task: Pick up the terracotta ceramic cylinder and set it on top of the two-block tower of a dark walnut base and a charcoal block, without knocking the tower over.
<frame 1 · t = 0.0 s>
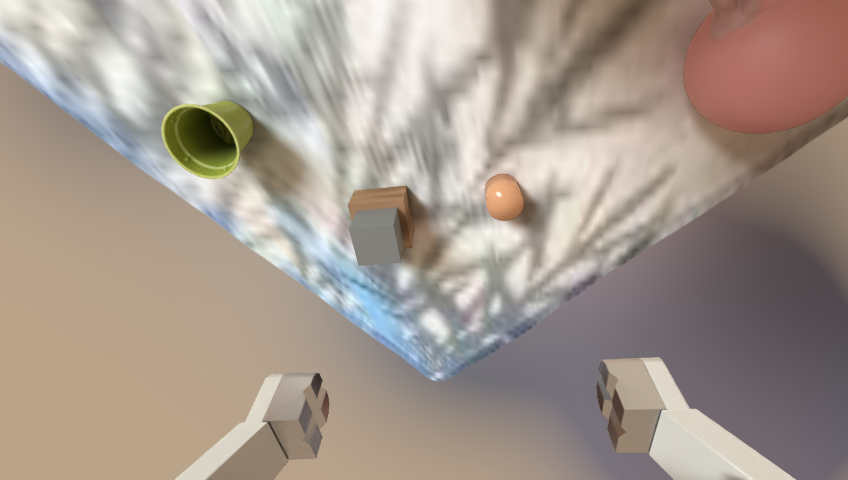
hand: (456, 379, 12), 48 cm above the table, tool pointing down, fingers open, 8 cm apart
terracotta cylinder: (501, 189, 61), on the table
tower base: (385, 210, 64), on the table, touching tower top
balloon: (719, 31, 49), on the table
tower top: (380, 227, 60), point 5 cm above the table, touching tower base
plant pot: (232, 122, 58), on the table
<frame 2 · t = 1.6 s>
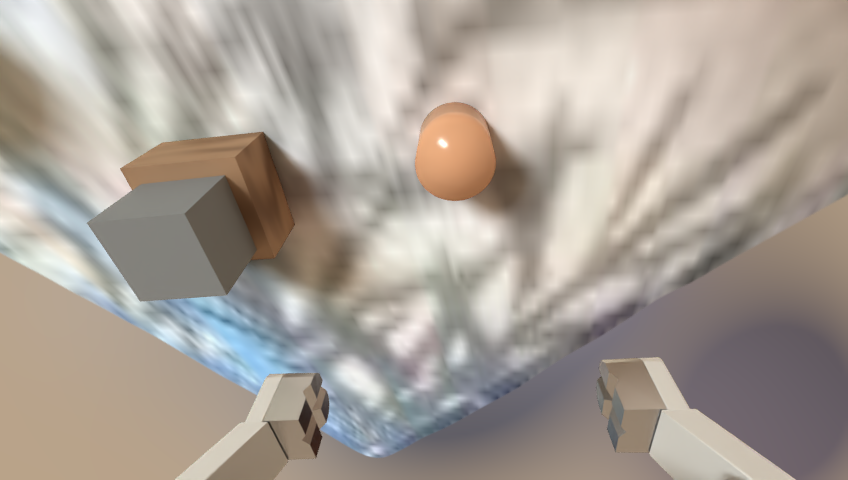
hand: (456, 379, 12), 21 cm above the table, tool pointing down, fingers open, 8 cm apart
terracotta cylinder: (454, 137, 30), on the table
tower base: (233, 184, 33), on the table
tower top: (201, 218, 29), point 5 cm above the table
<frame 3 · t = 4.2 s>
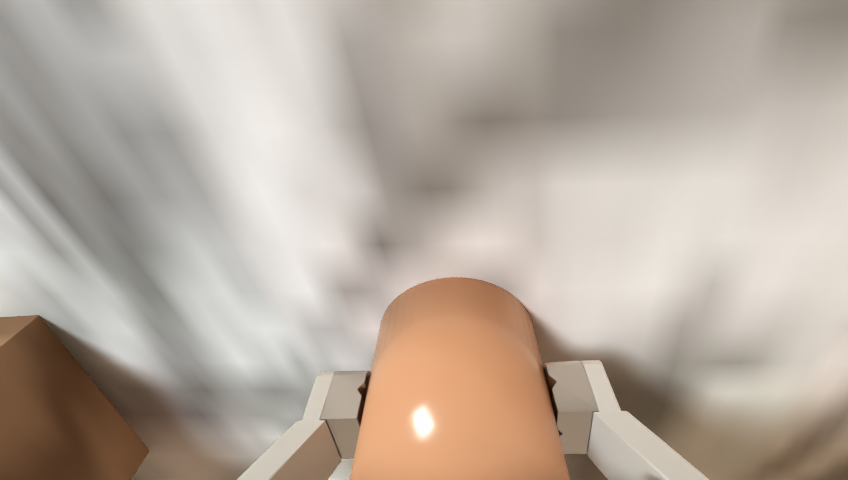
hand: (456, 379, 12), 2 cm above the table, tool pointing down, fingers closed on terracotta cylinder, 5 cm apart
terracotta cylinder: (455, 338, 13), on the table, touching gripper
tower base: (14, 390, 17), on the table, touching tower top
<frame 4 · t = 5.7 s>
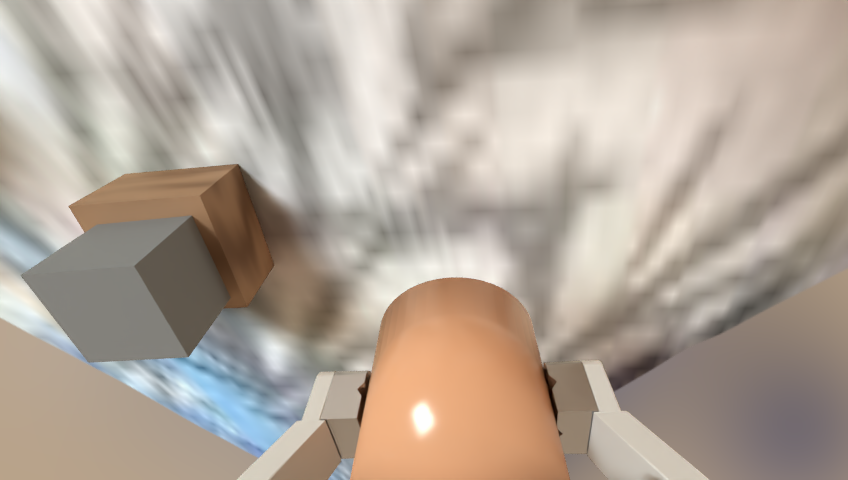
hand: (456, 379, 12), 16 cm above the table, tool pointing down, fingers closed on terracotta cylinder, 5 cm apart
terracotta cylinder: (455, 338, 13), point 15 cm above the table, touching gripper
tower base: (205, 220, 29), on the table, touching tower top
tower top: (166, 262, 25), point 5 cm above the table, touching tower base
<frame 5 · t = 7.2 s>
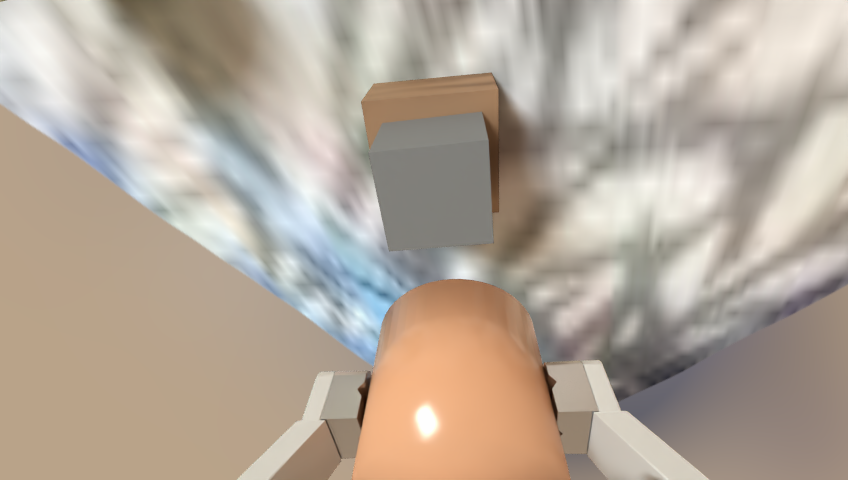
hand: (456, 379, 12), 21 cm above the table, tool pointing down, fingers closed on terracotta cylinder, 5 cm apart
terracotta cylinder: (456, 339, 13), point 20 cm above the table, touching gripper
tower base: (436, 134, 30), on the table, touching tower top
tower top: (437, 164, 26), point 5 cm above the table, touching tower base
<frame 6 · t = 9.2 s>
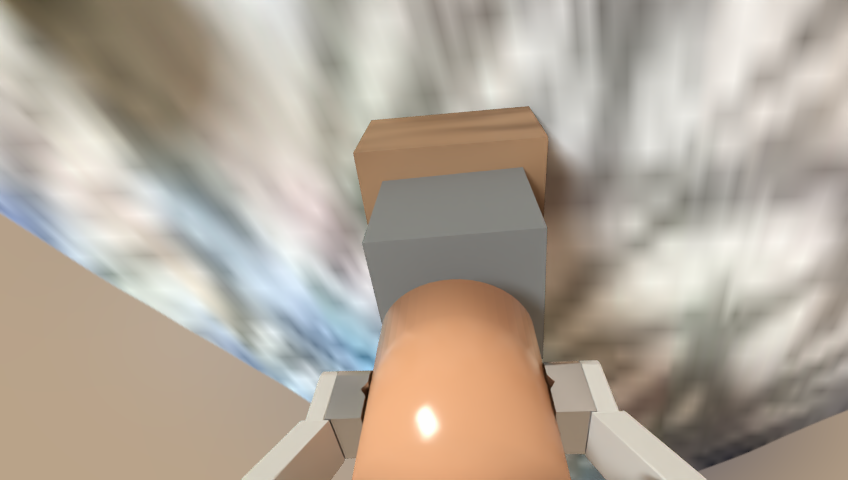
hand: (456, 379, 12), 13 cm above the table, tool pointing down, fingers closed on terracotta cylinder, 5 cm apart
terracotta cylinder: (456, 339, 13), point 11 cm above the table, touching gripper
tower base: (453, 183, 23), on the table, touching tower top
tower top: (457, 234, 19), point 5 cm above the table, touching tower base
when the fingers open (13 cm above the table, at t = 9.5 s): terracotta cylinder drops 1 cm, resting on tower top.
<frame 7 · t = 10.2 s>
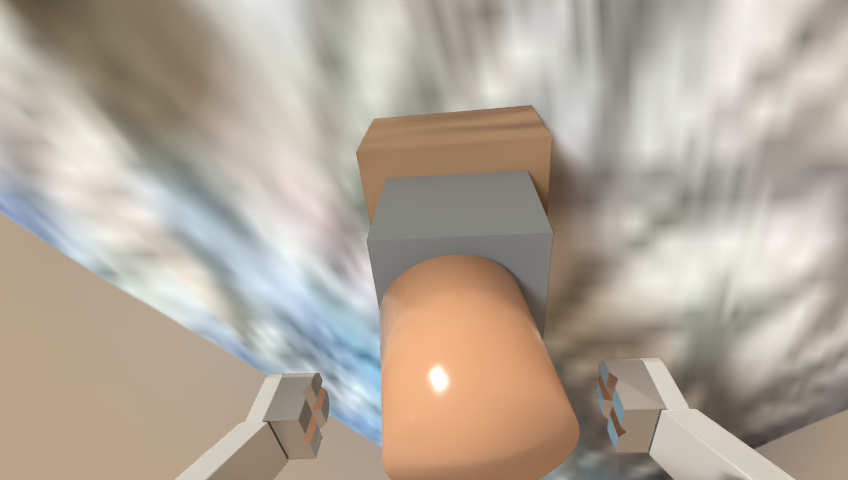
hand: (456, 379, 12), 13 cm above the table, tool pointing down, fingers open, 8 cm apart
terracotta cylinder: (451, 311, 14), point 10 cm above the table, tilted 9°, touching tower top
tower base: (455, 183, 23), on the table, touching tower top
tower top: (458, 234, 19), point 5 cm above the table, touching terracotta cylinder, tower base
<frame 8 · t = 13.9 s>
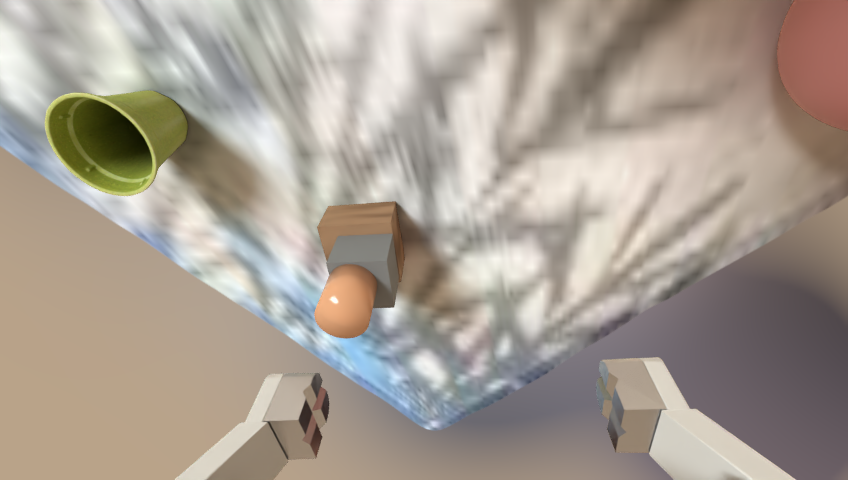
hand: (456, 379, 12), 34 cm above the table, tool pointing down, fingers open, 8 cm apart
terracotta cylinder: (352, 284, 42), point 10 cm above the table, touching tower top
tower base: (368, 232, 50), on the table
tower top: (369, 257, 46), point 5 cm above the table, touching terracotta cylinder
plant pot: (160, 119, 44), on the table
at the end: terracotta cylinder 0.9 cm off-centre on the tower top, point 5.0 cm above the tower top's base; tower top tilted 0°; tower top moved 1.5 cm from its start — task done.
